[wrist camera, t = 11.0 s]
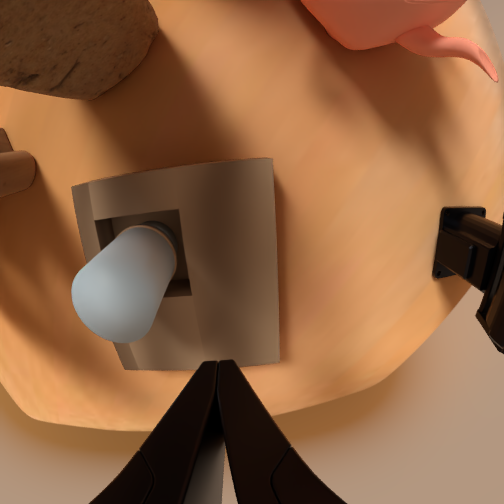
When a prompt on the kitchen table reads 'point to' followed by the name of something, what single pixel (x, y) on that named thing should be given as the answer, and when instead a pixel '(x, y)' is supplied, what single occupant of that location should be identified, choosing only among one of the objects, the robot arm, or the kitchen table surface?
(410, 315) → the kitchen table surface
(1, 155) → the wooden toy
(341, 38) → the teapot
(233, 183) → the board
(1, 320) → the kitchen table surface
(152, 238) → the peg
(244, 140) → the kitchen table surface
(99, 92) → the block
